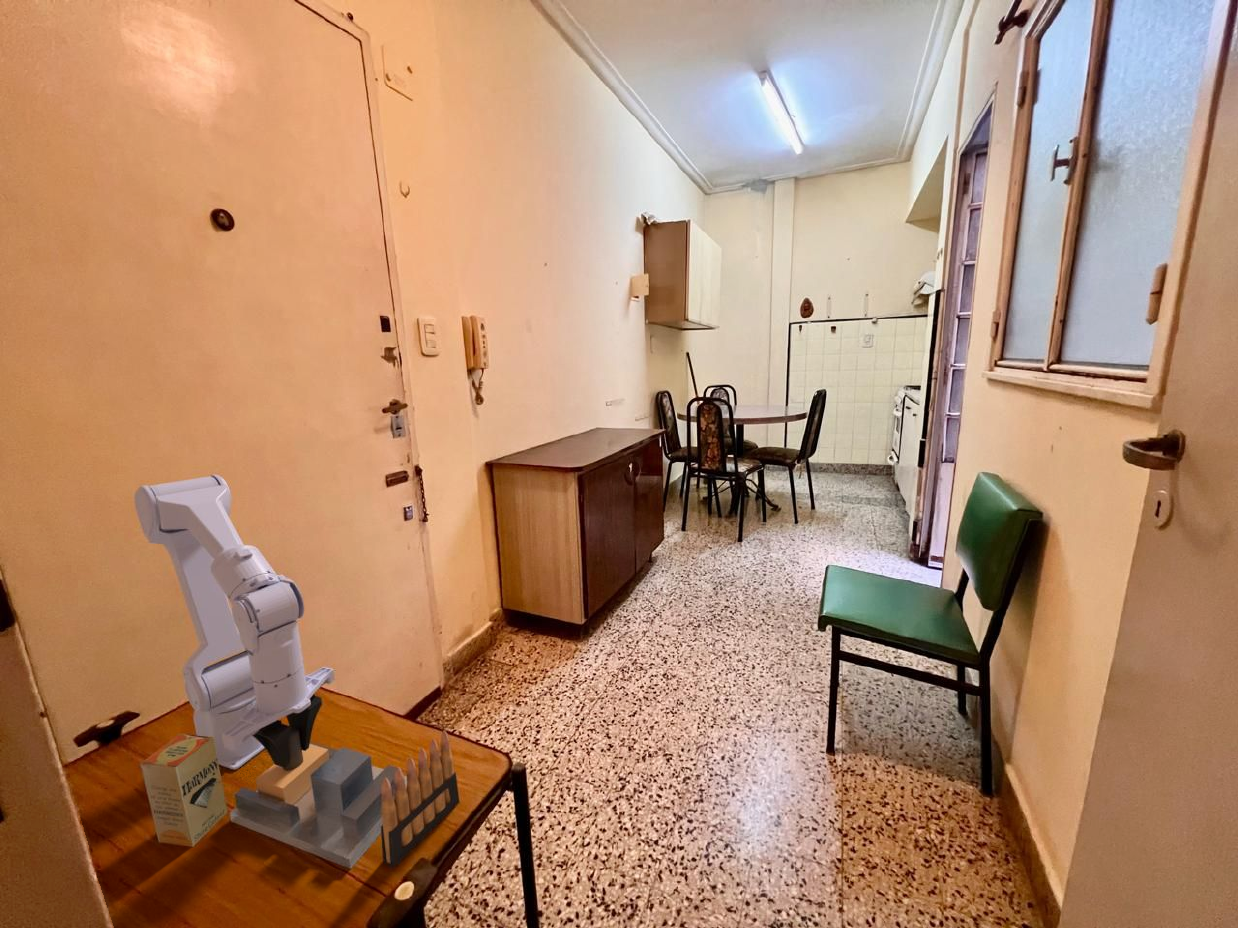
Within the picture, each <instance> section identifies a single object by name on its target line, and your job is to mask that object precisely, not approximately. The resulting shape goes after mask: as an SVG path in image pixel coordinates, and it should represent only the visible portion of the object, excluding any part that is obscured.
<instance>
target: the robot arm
mask: <svg viewBox="0 0 1238 928" xmlns="http://www.w3.org/2000/svg"><path fill="white" fill-rule="evenodd" d="M134 506H135V511H136V514H137V517H138V520H139V523H140V527H141V529H142V532H143V535H144V537H146V539H147V542H148V543H149V544H157V545H162V546H164V547H165V549H166V550H167V552H168V555H169V556H170V559H171V561H172V565H173V567H174V571H175V573H176V576H177V579H178V583H179V585H180V589H181V591H182V594H183V597H184V598H183V599H184V600H185V603H186V607H187V609H188V613H189V615H190V618H191V621H192V622H191V623H192V625H193V628H194V631H195V634H196V636H197V639H198V643H199V646H198V647H197V649H195V651H194V652H193V653H192V654H191V655H190V657H189V658H188V659H187V660H186V661H185V663H184V664H183V666H182V676H183V681H184V688H185V693H186V697H187V699H188V701H189V704H190V706H192V708H193V709H194V711H193V723H194V727H195V733H196V735H197V736H207V737H213V739H214V744H215V749H216V754H217V760H218V765H219V766H222V767H225V768H228V769H231V770H237V769H239V768H240V767H242V766H243V765H244V764H246V763H247V762H249V761H250V760H252V758H254V757H255V756H257V755H258V754H259V753H261V752H262V751H263V750H266V751H267V753H268V754H269V756H270V758H271V760H272V762H273V765H274V764H275V765H278V766H281V767H284V768H285V767H286V766H288V765H289V764H290V754H289V747H288V739H289V732H290V728H291V727H297V728H298V729H299V735H300V741H301V748H302V750H303V751H306V750H307V749H308V748H309V745H310V742H311V739H312V738H311V737H312V733H313V732H312V731H313V729H314V725H315V721H316V719H317V715H318V713H319V711H320V709H321V708H322V705H323V700H322V697H321V696H318V695H315V694H316V692H317V691H318V690H319V689H320V688H322V686H324V685H325V684H327V685H329V684H332V683H333V682H334V681H335V680H336V678H335V670H334V668H331V667H327V666H322V667H321V668H319V669H317V670H316V671H313V672H312V673H309V674H307V675H306V671H305V666H304V657H303V650H302V644H301V639H300V638H301V637H300V631H299V624H298V623H299V622H298V619H301V618H303V616H304V614H305V602H304V598H303V595H302V593H301V590H300V588H299V587H298V586H297V584H296V582H295V581H294V580H293V579H292V578H288V577H286V576H285V575H284V574H277V573H276V571H275V570H274V569H273V567H272V566H271V565H270V563H269V562H268V561H267V559H266V558H265V556H264V555H263V554H262V552H261V551H260V549H259V548H257V546H254V545H252V544H251V545H249V544H244V543H243V540H242V539H241V537H240V536H239V533H238V532H237V529H236V528H235V526H234V524H233V522H232V520H231V518H230V516H229V515H230V514H231V506H232V493H231V490H230V488H229V485H228V483H227V482H226V480H225V479H224V478H223V477H222V476H221V475H219V474H217V473H216V474H210V475H209V476H203V477H197V478H190V479H183V480H177V481H173V482H172V481H171V482H166V483H158V484H152V485H146V484H145V485H140V486H139V487H138V488H137V490H135V492H134ZM229 602H230V603H231V606H232V607H231V606H230V603H229ZM240 651H241V652H240ZM238 652H239V653H238ZM236 653H237V654H236ZM233 654H234V655H233ZM231 655H232V656H231ZM226 657H227V658H226ZM223 658H225V659H223ZM221 659H222V660H221ZM219 660H220V661H219ZM214 662H215V663H214ZM284 717H286V719H287V723H288V725H287V724H284V723H282V720H280V719H282V718H284Z"/></svg>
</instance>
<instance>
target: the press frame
mask: <svg viewBox="0 0 1238 928" xmlns="http://www.w3.org/2000/svg"><path fill="white" fill-rule="evenodd" d="M310 744H312V745H316V746H319V747H322V748H325V749H328V751H329V758H330V757H331V756H333V755H334V754H335V753H336V752H337V751H338V750H339V749H335V748H331V747H328V746H326V745H322V744H319V743H315V742H312V741H310ZM397 767H398V766H397ZM397 767H395V766H393V765H390V764H388V765H387V766H386V767H384V768H380V767H377V766H374V765H372V773H373V781H372V782H371V783H370V784H369V785H368V786H367V788H366V789H365V790H364V791H363V792H362V793H361V794H360V795H359V796H358V797H357V798H356V799H355V800H354V801H353V802H352V803H351V804H350V805H349V806H348V807H347V808H346V809H345V810H344V811H343V812H342V813H341V820H342V822H340V821H337V820H334V819H332V818H329V817H326V816H323V815H321V814H318V813H316V809H315V802H314V796H313V789H312V788H310V789H309V790H308V791H307V792H306V793H305V794H304V795H303V796H302V797H301V798H300V799H298V800H297V801H296V802H295V803H294V804H293V805H291V804H288V803H286V802H283V801H280V800H277V799H275V798H272V797H269V796H266V795H264V794H261V793H258V789H257V790H253V789H249V788H247V787H242V788H241V789H239V790H238V791H237V792H235V793H234V794H233V796H234V800H235V804H236V807H234V808H233V809H232V810H231V811H229V815H230V816H229V817H230V820H231V823H234V824H236V825H238V826H242V827H244V828H247V829H249V830H251V831H254V832H257V833H259V834H262V835H263V836H264V835H265V836H267V837H269V838H271V839H275V840H277V841H279V842H282V843H284V844H286V845H289V846H292V847H294V848H297V849H299V850H302V851H305V852H307V853H309V854H312V855H315V856H317V857H320V858H322V859H324V860H327V861H329V862H332V863H335V864H337V865H339V866H342V867H344V868H347V869H349V870H350V869H351V870H352V868H353V867H354V866H355V865H356V863H357V862H359V860H360V859H361V857H363V855H364V854H365V853H366V852H367V851H368V849H369V848H371V846H372V844H373V843H374V842H375V841H376V840H377V838H378V837H379V836H381V826H382V825H383V823H382V814H381V807H382V795H381V788H382V782H383V779H384V778H385V777H386V778H387V779H388V780H389V782H390V785H391V788H392V795H393V799H394V795H395V790H394V788H395V786H394V777H395V772H396V769H397ZM400 769H401V771H402V773H403V776H404V780H405V786H407V775H404V769H403V768H400Z"/></svg>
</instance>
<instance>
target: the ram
mask: <svg viewBox="0 0 1238 928" xmlns="http://www.w3.org/2000/svg"><path fill="white" fill-rule="evenodd" d="M288 747H289V754H290V764H289V765H288V766H286V767H285V768H284V767H281V766H278V765H275V764H274V763H273V765H271V766H270V767H268V768H267V769H266V770H265V771H263V773H261V774H260V775H259V776H257V777H256V778H255V784H256V788H257V790H258V793H261V794H264V795H266V796H269V797H272V798H275V799H277V800H280V801H283V802H286V803H288V804H291V805H293V804H294V803H295V802H296V801H297V800H298V799H300V798H301V797H302V796H303V795H304V794H305V793H306V792H307V791H308V790H309V789H310V788H312V782H311V776H310V775H311V774H312V773H313V772H314V771H316V770H317V769H318V768H319V767H320V766H321V765H322V764H323V763H325V762H326V761H327V760H328V759H329V751H328V749H325V748H322V747H319V746H316V745H312V744H310V745H309V748H308V749H307V750H306V751H303V750H302V748H301V741H300V735H299V729H298V728H297V727H291V728H290V732H289V739H288Z"/></svg>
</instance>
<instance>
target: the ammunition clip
mask: <svg viewBox="0 0 1238 928" xmlns="http://www.w3.org/2000/svg"><path fill="white" fill-rule="evenodd" d="M439 744H440V750H439V746H438V744H437V740H435V738H432V739H431V741H430V745H429V761H428V756H427V753H426V751H425V749H424V747H421V748H420V750H419V753H418V759H417V763H418V769H417V766H416V764H415V761H414V759H413V757H409V758H408V760H407V764H406V776H407V786H405V780H404V776H405V775H404V772H403V773H402V771H401V769H402V768H400V767H399V766H397V769H396V772H395V777H394V786H395V788H394V790H395V795H394V799H393V795H392V788H391V785H390V782H389V780H388V779H387V778H386V777H385V778H384V779H383V782H382V788H381V795H382V807H381V814H382V823H383V825H382V826H381V834H380V836H381V837H380V839H381V852H382V861H383V862H384V863H385V864H387V866H388V867H390V868H395V867H396V866H397V865H398V864H399V863H400V862H401V861H402V860H403V859H404V858H405V857H406V856H407V855H408V854H409V853H410V852H411V851H412V850H413V849H414V848H415V847H416V846H417V845H418V844H419V843H420V842H421V841H422V840H423V839H424V838H425V837H426V836H427V835H428V834H429V833H430V832H431V831H432V830H433V829H434V828H435V827H436V826H437V825H438V824H439V823H440V822H441V821H442V820H443V819H444V818H445V817H446V816H447V815H448V814H449V813H451V811H452V810H453V809H454V808H456V806H457V805H458V804H459V803H460V797H459V795H460V794H459V788H458V779H457V773H456V772H455V771H454V759H453V755H452V754H453V753H452V752H451V751H452V749H451V744H450V739H449V735H448V733H447V732H446V730H445V729H443V730H442V733H441V737H440V743H439ZM417 771H418V772H417ZM403 775H404V776H403Z"/></svg>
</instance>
